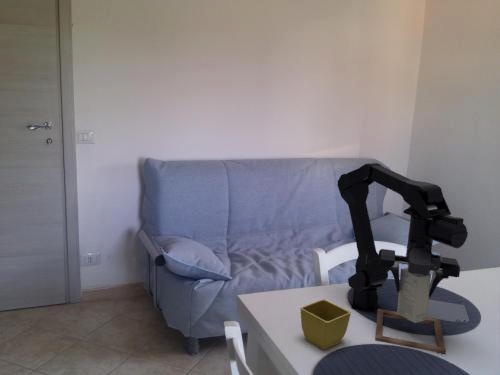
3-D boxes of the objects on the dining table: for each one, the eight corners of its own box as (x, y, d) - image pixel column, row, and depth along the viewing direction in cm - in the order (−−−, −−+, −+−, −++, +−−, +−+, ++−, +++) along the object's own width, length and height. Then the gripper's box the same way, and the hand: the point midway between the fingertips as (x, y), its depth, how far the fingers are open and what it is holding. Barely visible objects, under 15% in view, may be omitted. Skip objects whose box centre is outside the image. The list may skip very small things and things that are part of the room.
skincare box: (426, 320, 111) (432, 275, 109) (413, 323, 109) (419, 277, 107) (407, 309, 117) (413, 265, 114) (395, 312, 115) (400, 268, 112)
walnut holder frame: (374, 343, 109) (375, 337, 109) (377, 313, 124) (377, 308, 124) (445, 357, 104) (445, 351, 104) (439, 324, 119) (439, 319, 119)
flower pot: (321, 330, 114) (323, 298, 112) (348, 346, 107) (351, 311, 105) (297, 341, 108) (299, 307, 106) (324, 358, 102) (327, 322, 100)
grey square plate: (422, 318, 122) (422, 316, 122) (420, 299, 133) (420, 298, 133) (470, 326, 119) (470, 324, 119) (464, 307, 130) (464, 305, 130)
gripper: (380, 239, 104) (373, 301, 107) (467, 251, 98) (457, 315, 101) (381, 227, 114) (375, 283, 117) (460, 236, 109) (452, 295, 112)
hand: (413, 294), depth 112 cm, fingers closed on skincare box, 7 cm apart
